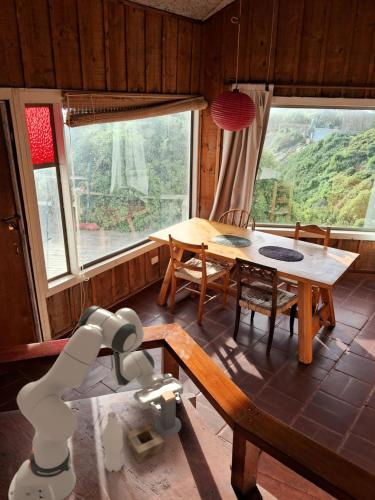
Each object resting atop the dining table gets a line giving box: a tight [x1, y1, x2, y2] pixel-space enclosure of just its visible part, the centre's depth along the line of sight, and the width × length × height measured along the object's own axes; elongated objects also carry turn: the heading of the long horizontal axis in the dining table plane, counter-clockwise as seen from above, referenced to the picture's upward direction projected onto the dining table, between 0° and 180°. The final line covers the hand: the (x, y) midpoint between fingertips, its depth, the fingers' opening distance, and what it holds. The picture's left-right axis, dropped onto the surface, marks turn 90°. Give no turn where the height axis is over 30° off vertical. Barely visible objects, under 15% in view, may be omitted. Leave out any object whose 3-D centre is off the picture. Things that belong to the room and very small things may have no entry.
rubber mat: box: [154, 416, 182, 436], centre depth 171 cm, size 11×11×1 cm
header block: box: [125, 422, 165, 464], centre depth 159 cm, size 11×11×6 cm
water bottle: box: [102, 411, 125, 473], centre depth 148 cm, size 7×7×25 cm
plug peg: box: [160, 390, 177, 431], centre depth 168 cm, size 4×4×16 cm
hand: (169, 405), depth 166 cm, fingers open, 8 cm apart
